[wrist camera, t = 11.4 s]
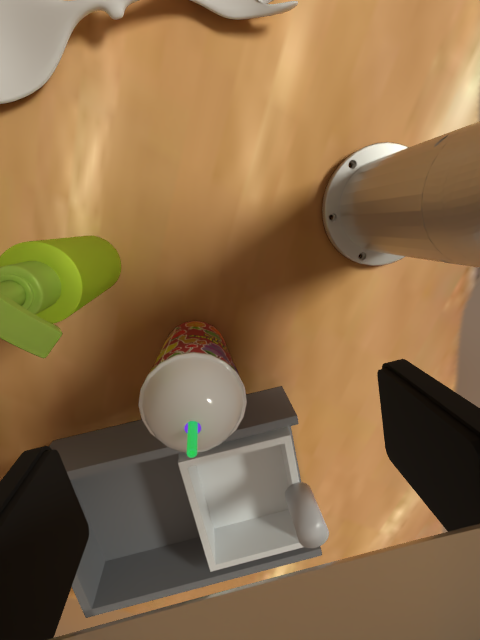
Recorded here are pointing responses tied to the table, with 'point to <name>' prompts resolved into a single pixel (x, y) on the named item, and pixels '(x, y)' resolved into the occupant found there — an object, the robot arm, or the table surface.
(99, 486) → the bay
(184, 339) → the smoothie
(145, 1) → the table surface
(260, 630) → the robot arm
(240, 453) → the drawer
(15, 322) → the soap dispenser
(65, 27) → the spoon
